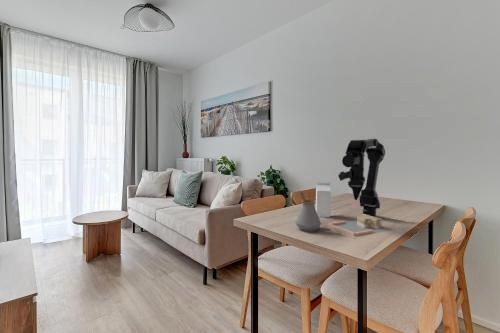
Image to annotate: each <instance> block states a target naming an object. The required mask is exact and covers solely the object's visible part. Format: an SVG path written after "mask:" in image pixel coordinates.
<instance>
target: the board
mask: <svg viewBox="0 0 500 333" xmlns="http://www.w3.org/2000/svg"><path fill="white" fill-rule="evenodd" d="M325 226H327V227H325V228H327V229H328V227H329V228H330V230H331V231H333V230H337V231H338V233H339V234H341V232H342V233H343V235H344V236H346V235H348V237H350V238H352V239H354V237H355V238H357V237H358V238H359V237H363V236H368V235H373V234H378V233H383V232H387V231H389V229H388V228H384V227H382V228H377V229H375V228H372V227H367V228H363V227H360V226H357V219H355V220H349V221H348V220H347V221H346V220H340V221H334V222H328V223H327V224H325ZM331 228H332V229H331ZM339 231H340V232H339ZM344 233H345V234H344ZM349 235H351V236H349ZM352 236H353V237H352Z"/></svg>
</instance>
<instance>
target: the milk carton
mask: <svg viewBox="0 0 500 333" xmlns="http://www.w3.org/2000/svg"><path fill="white" fill-rule="evenodd" d="M331 195H332V189H331V182H321V181H319V182H318V181H317V182H316V185H315V201H316V203H315V210H316V212H317V215H318V217H319V219H322V218H330V217H331V201H332V200H331V197H332V196H331Z"/></svg>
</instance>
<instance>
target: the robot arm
mask: <svg viewBox="0 0 500 333" xmlns="http://www.w3.org/2000/svg"><path fill="white" fill-rule="evenodd" d="M365 153H366V155H367V159H368V161H369V164H368V170H367V177H365V176H364V175H365V174H364V173H365V168H364V167H365ZM385 156H386V150H385V147H384V145H383V144H382V143H381V142H379V140H378V138H367V139H353V140H350V141H349V143H348V144H347V148H346V150H345V155H344V156H343V157H342V160H341V162H342V165H343V166H344V167H345V168H349V170H348V171H341V172H339V173H338V174H337V175H338V179H339V181H340V182H341V181H344V180H347V179H349V180H348V181H347V185H348V187H349V188H350V189H351V190H352V194H353V199H354V200H356V201H357V200H358V199H359V206H360V207H363V210H362V214H365V215H369V216H373V217H377V209H378V210H379V209H380V207H381V203H380V199H379V195H378V192H377V190H376V186H377V181H378V174H379V167H380V164H381V162H382V161H383V160H384V158H385ZM365 181H366V183H365ZM364 185H365V188H364ZM363 188H364V189H363Z"/></svg>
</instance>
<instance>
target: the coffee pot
mask: <svg viewBox="0 0 500 333" xmlns="http://www.w3.org/2000/svg"><path fill="white" fill-rule="evenodd" d="M299 195H300V197H301V199H302V200H301V201H300V202H301V203H302V206H301V209H300V211H299V214H298V215H297V218H296V220H295V225H296V226H297V227H298V229H299V230H301V231H304V232H316V231H317V230H318V229H319V228H320V227H321V225H322V222H321V220H320V218H319V217H318V215H317V212H316V200H311V199H309V200H308V199H305V196H304V193H303V192H302V191H300V192H299Z"/></svg>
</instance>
